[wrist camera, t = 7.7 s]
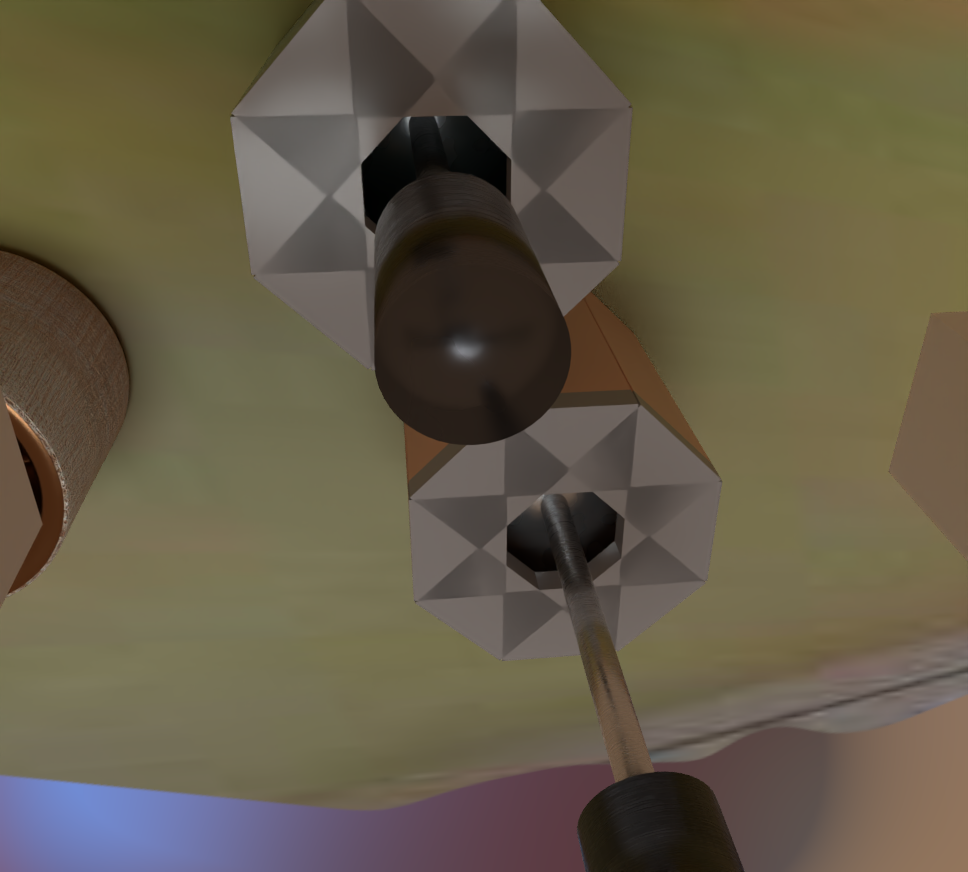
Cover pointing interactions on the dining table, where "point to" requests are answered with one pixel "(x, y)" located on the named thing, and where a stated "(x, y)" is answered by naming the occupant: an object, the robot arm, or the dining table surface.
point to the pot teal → (415, 93)
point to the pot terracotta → (557, 470)
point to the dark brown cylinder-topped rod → (458, 288)
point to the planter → (57, 394)
